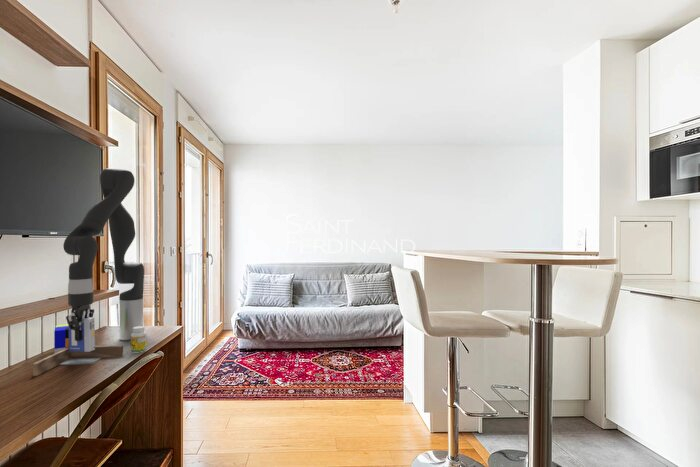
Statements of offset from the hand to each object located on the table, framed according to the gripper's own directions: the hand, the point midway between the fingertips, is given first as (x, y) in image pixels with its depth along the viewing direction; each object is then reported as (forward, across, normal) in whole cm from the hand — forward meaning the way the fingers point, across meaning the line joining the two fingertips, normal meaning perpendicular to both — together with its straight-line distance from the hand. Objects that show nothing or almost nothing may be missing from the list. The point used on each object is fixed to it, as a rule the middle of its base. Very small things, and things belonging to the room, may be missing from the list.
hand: (80, 339), depth 143 cm
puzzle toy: (+8, +12, +10) cm, 18 cm away
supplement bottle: (+8, +10, -16) cm, 20 cm away
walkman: (+4, +1, 0) cm, 4 cm away
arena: (+8, -4, -2) cm, 9 cm away
